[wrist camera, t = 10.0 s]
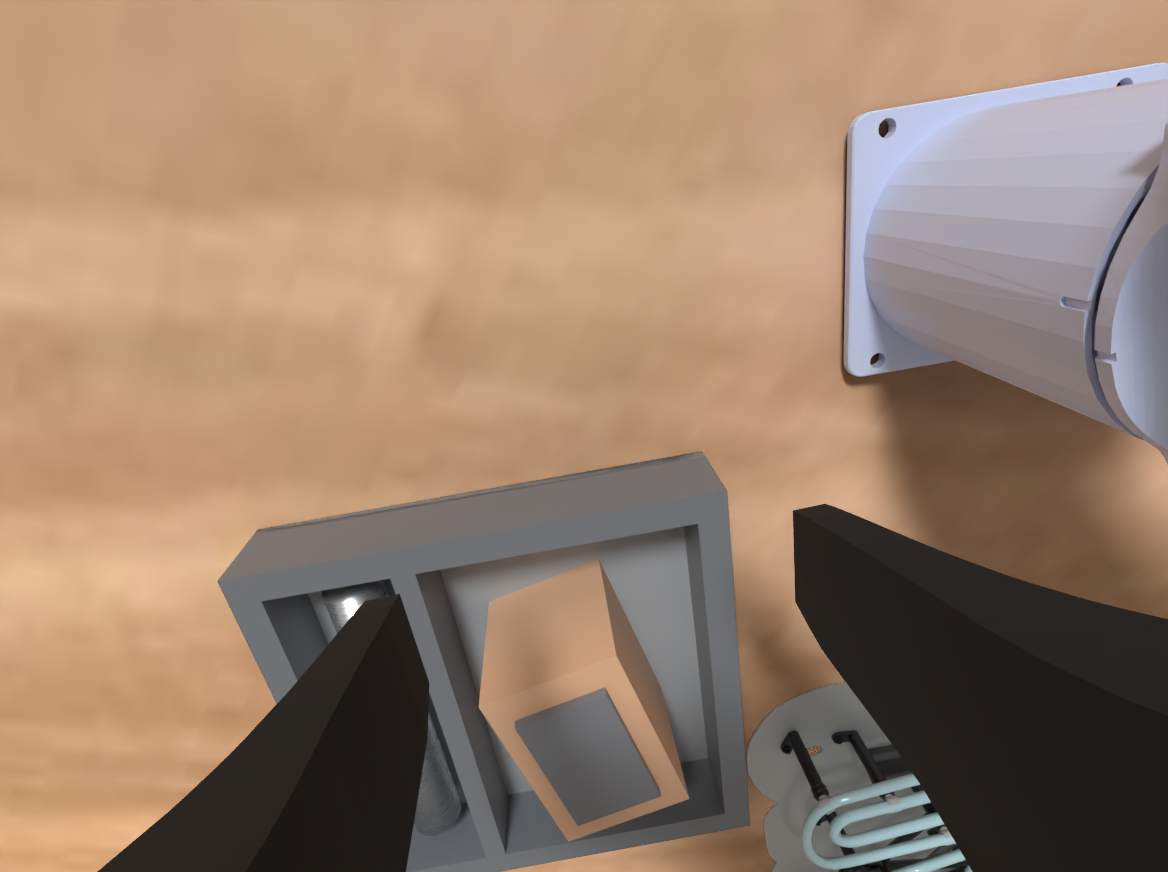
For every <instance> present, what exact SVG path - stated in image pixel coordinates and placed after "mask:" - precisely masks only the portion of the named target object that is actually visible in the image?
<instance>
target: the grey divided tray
mask: <svg viewBox="0 0 1168 872" xmlns="http://www.w3.org/2000/svg"><path fill="white" fill-rule="evenodd" d="M597 559H599V560H600V562H601V564H602V566H603V569H604V571H605V573H606V575H607V577H608V579H609V581H610V583H611V585H612V587H613V589H614V591H615V593H616V595H617V597H618V600H619V602H620V604H621V606H622V608H623V610H624V612H625V614H626V616H627V618H628V620H629V622H630V624H631V626H632V628H633V631H634V633H635V635H636V637H637V639H638V641H639V643H640V645H641V647H642V649H643V651H644V653H645V655H646V657H647V659H648V662H649V664H650V666H651V668H652V670H653V672H654V674H655V676H656V678H657V680H658V682H659V684H660V686H661V690H662V694H663V698H664V702H665V706H666V709H667V713H668V717H669V721H670V725H671V729H672V733H673V737H674V741H675V744H676V748H677V752H678V756H679V760H680V764H681V768H682V772H683V776H684V780H685V783H686V787H687V791H688V795H689V799H688V800H685V801H682V802H679V803H676V804H674V805H671V806H668V807H665V808H662V809H660V810H657V811H654V812H651V813H648V814H645V815H643V816H640V817H637V818H634V819H631V820H629V821H626V822H623V823H620V824H617V825H614V826H612V827H609V828H606V829H603V830H600V831H597V832H595V833H592V834H589V835H586V836H583V837H581V838H578V839H575V840H572V841H569V842H568V841H567V839H566V838H565V836H564V835H563V833H562V832H561V830H560V829H559V827H558V826H557V824H556V823H555V821H554V820H553V818H552V817H551V815H550V814H549V812H548V811H547V809H546V808H545V806H544V805H543V803H542V802H541V800H540V799H539V797H538V796H537V794H536V793H535V791H534V790H533V788H532V787H531V785H530V784H529V782H528V781H527V779H526V778H525V776H524V775H523V773H522V772H521V770H520V769H519V767H518V766H517V764H516V763H515V761H514V760H513V758H512V757H511V755H510V754H509V752H508V751H507V749H506V748H505V746H504V745H503V743H502V742H501V740H500V739H499V737H498V736H497V734H496V733H495V731H494V730H493V728H492V727H491V725H490V724H489V722H488V721H487V719H486V718H485V716H484V715H483V713H482V712H481V710H480V709H479V699H480V689H481V678H482V668H483V658H484V648H485V638H486V628H487V618H488V607H489V602H490V601H493V600H496V599H498V598H501V597H503V596H506V595H508V594H511V593H513V592H516V591H518V590H521V589H524V588H526V587H529V586H531V585H534V584H536V583H539V582H541V581H544V580H546V579H549V578H552V577H554V576H557V575H559V574H562V573H564V572H567V571H569V570H572V569H575V568H577V567H580V566H582V565H585V564H587V563H590V562H592V561H595V560H597ZM379 580H383V581H384V584H385V587H386V590H387V592H388V595H389V596H391V595H396V594H400V596H401V599H402V602H403V605H404V608H405V611H406V614H407V617H408V620H409V623H410V626H411V629H412V632H413V635H414V638H415V641H416V644H417V647H418V650H419V653H420V656H421V659H422V662H423V665H424V668H425V671H426V674H427V677H428V680H429V712H430V715H431V718H432V721H433V724H434V727H435V730H436V732H437V735H438V738H439V741H440V744H441V747H442V750H443V752H444V755H445V758H446V761H447V764H448V767H449V769H450V772H451V775H452V778H453V781H454V784H455V787H456V789H457V792H458V795H459V798H460V801H461V811H460V814H459V817H458V819H457V820H456V822H455V823H454V824H453V825H452V826H451V827H450V828H449V829H448V830H447V831H445V832H444V833H441V834H439V835H436V836H425V835H422V834H420V833H419V832H418V831H417V829H416V828H415V825H414V826H413V832H412V838H411V844H410V850H409V856H408V862H407V868H406V872H501V871H506V870H512V869H517V868H522V867H528V866H533V865H539V864H544V863H549V862H555V861H560V860H566V859H571V858H576V857H582V856H587V855H593V854H598V853H603V852H609V851H614V850H620V849H625V848H630V847H636V846H641V845H647V844H652V843H657V842H663V841H668V840H674V839H679V838H684V837H690V836H695V835H701V834H706V833H711V832H717V831H722V830H728V829H733V828H738V827H744V826H749V825H750V817H749V802H748V788H747V773H746V759H745V744H744V729H743V715H742V700H741V686H740V671H739V656H738V642H737V627H736V613H735V598H734V583H733V569H732V554H731V540H730V525H729V511H728V496H727V490H726V488H725V487H724V485H723V484H722V482H721V480H720V479H719V477H718V476H717V474H716V473H715V471H714V469H713V468H712V466H711V465H710V463H709V462H708V460H707V458H706V457H705V455H704V454H703V452H696V453H691V454H685V455H679V456H674V457H668V458H662V459H657V460H651V461H645V462H640V463H634V464H628V465H622V466H617V467H611V468H605V469H600V470H594V471H588V472H583V473H577V474H571V475H566V476H560V477H554V478H549V479H543V480H537V481H532V482H526V483H520V484H515V485H509V486H503V487H498V488H492V489H486V490H481V491H475V492H469V493H463V494H458V495H452V496H446V497H441V498H435V499H429V500H424V501H418V502H412V503H407V504H401V505H395V506H390V507H384V508H378V509H373V510H367V511H361V512H356V513H350V514H344V515H339V516H333V517H327V518H321V519H316V520H310V521H304V522H299V523H293V524H287V525H282V526H276V527H270V528H265V529H259V530H257V531H256V533H255V534H254V535H253V536H252V538H251V539H250V540H249V541H248V543H247V544H246V545H245V547H244V548H243V549H242V550H241V552H240V553H239V554H238V556H237V557H236V558H235V559H234V561H233V562H232V563H231V565H230V566H229V567H228V568H227V570H226V571H225V572H224V573H223V575H222V576H221V577H220V579H219V580H218V581H217V582H218V584H219V586H220V588H221V590H222V592H223V594H224V596H225V598H226V600H227V602H228V604H229V606H230V608H231V610H232V613H233V615H234V617H235V619H236V621H237V623H238V625H239V627H240V629H241V631H242V633H243V635H244V637H245V639H246V641H247V644H248V646H249V648H250V650H251V652H252V654H253V656H254V658H255V660H256V662H257V664H258V666H259V668H260V670H261V672H262V675H263V677H264V679H265V681H266V683H267V685H268V687H269V689H270V691H271V693H272V695H273V697H274V699H275V701H276V703H278V702H279V701H280V700H281V699H282V698H283V697H284V696H285V695H286V694H287V693H288V691H289V690H290V689H291V688H292V687H293V686H294V685H295V684H296V682H297V681H298V680H299V679H300V678H301V676H302V675H303V674H304V673H305V672H306V671H307V669H308V668H309V667H310V666H311V665H312V663H313V662H314V661H315V660H316V659H317V657H318V656H319V655H320V654H321V653H322V652H323V650H324V649H325V648H326V647H327V646H328V644H329V643H330V642H331V641H332V639H333V638H334V637H335V636H336V635H337V632H336V630H335V627H334V625H333V623H332V620H331V618H330V615H329V613H328V610H327V608H326V605H325V603H324V600H323V598H322V591H323V590H329V589H334V588H340V587H346V586H351V585H357V584H362V583H368V582H374V581H379Z"/></svg>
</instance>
